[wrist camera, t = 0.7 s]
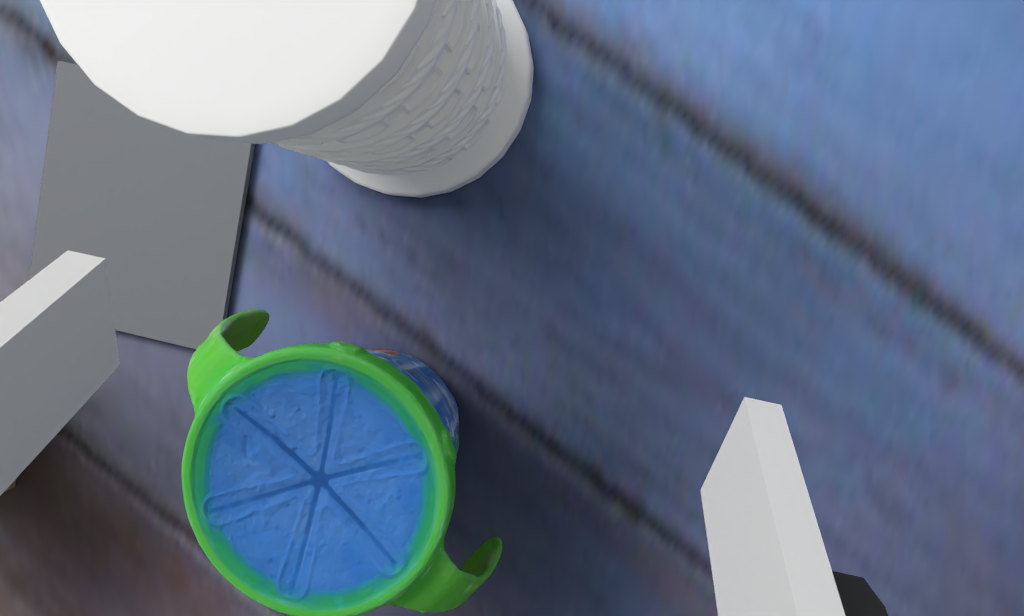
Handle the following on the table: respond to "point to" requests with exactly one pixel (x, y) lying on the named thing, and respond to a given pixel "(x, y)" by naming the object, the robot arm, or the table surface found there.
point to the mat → (142, 210)
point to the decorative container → (320, 78)
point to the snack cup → (325, 475)
